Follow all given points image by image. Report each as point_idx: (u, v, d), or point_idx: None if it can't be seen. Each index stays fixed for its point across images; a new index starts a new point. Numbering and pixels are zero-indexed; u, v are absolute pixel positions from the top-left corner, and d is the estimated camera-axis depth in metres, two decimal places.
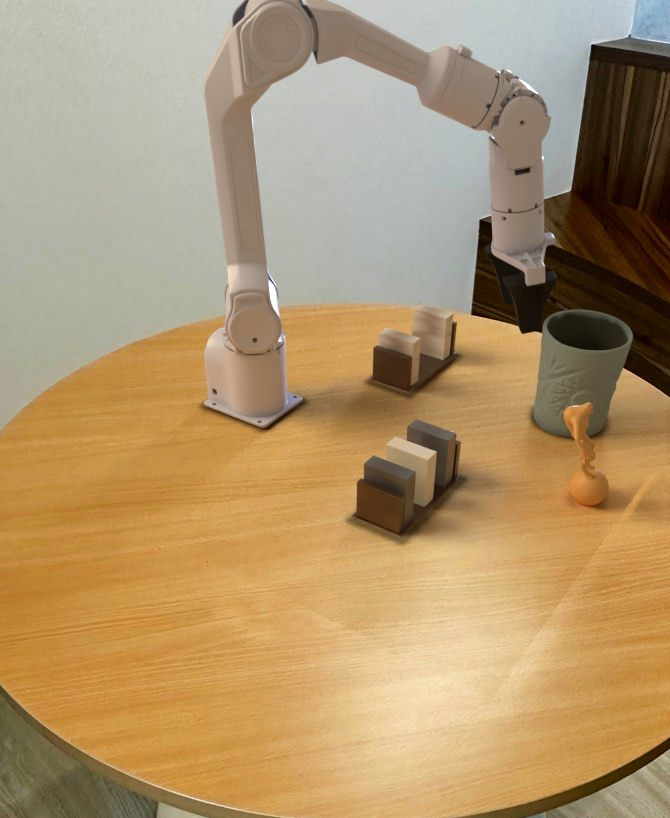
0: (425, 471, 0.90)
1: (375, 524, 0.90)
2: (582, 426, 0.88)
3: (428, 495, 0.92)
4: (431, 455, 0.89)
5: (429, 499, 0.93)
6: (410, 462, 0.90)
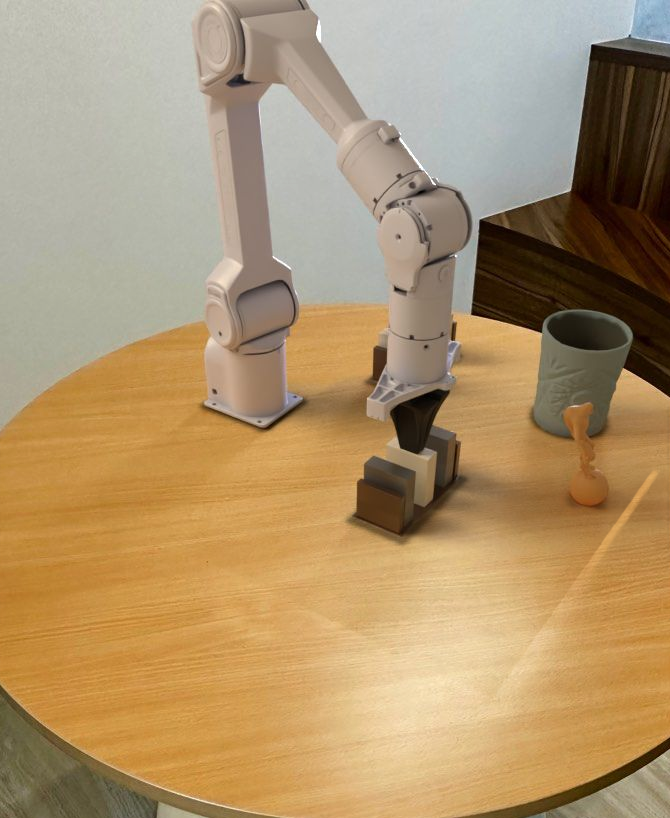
0: (425, 472, 0.90)
1: (375, 524, 0.90)
2: (582, 426, 0.88)
3: (428, 495, 0.92)
4: (431, 455, 0.89)
5: (429, 499, 0.93)
6: (410, 462, 0.90)
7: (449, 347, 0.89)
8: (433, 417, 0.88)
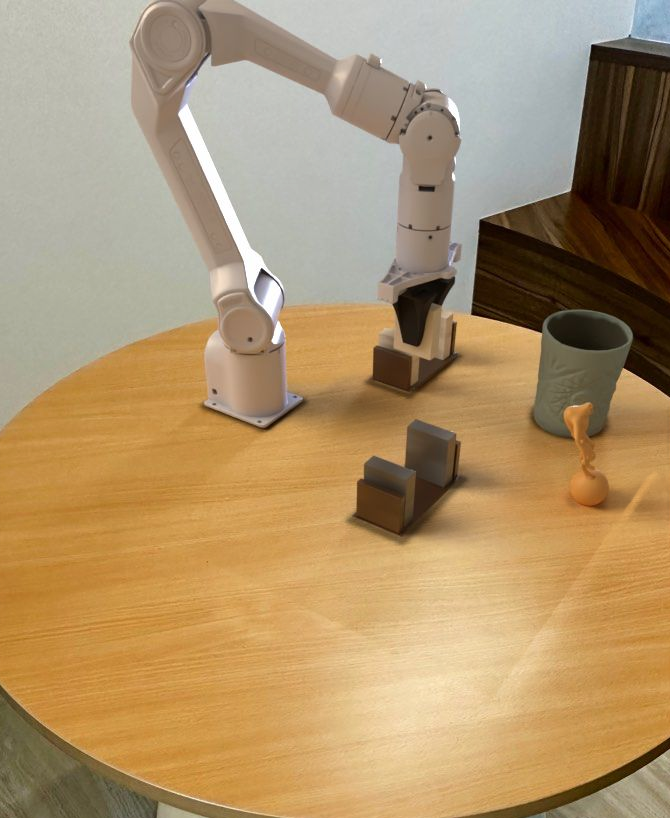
0: (431, 324, 0.98)
1: (375, 524, 0.90)
2: (582, 426, 0.88)
3: (434, 349, 1.01)
4: (437, 308, 0.98)
5: (435, 354, 1.01)
6: None
7: (451, 247, 1.00)
8: (440, 305, 0.99)
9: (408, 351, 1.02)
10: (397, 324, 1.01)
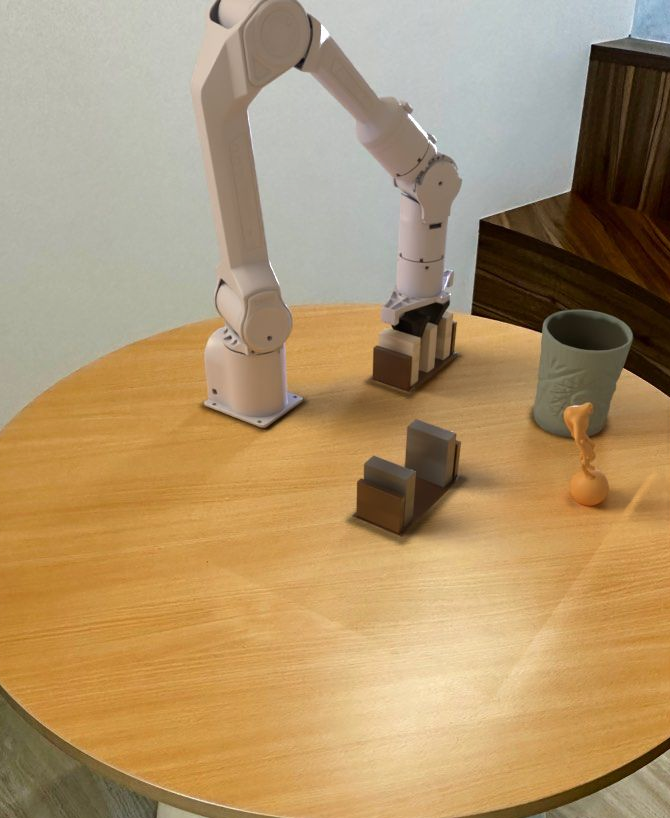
0: (428, 341, 1.12)
1: (375, 524, 0.90)
2: (582, 426, 0.88)
3: (430, 363, 1.14)
4: (433, 327, 1.11)
5: (431, 367, 1.15)
6: None
7: (444, 273, 1.13)
8: (437, 324, 1.13)
9: None
10: None
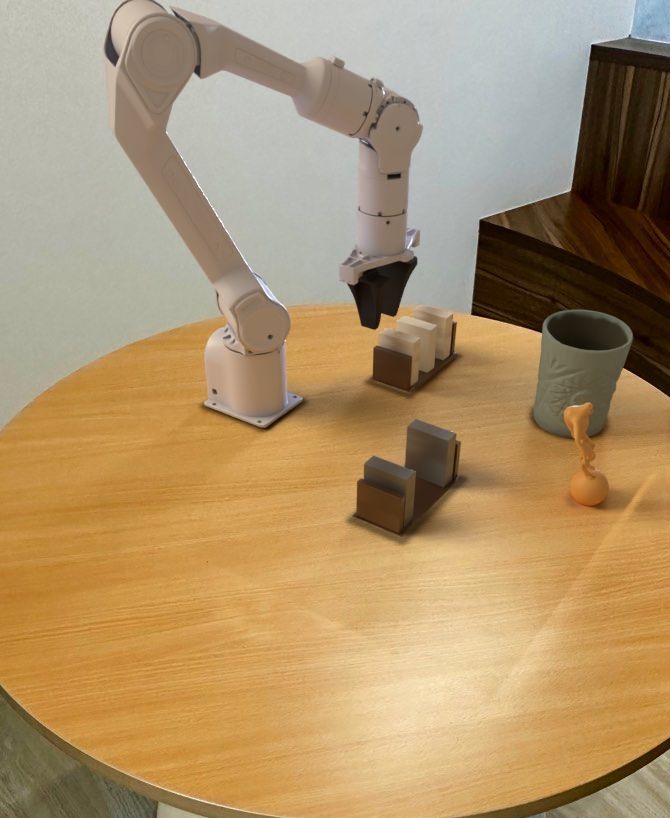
0: (428, 341, 1.12)
1: (375, 524, 0.90)
2: (582, 426, 0.88)
3: (430, 363, 1.14)
4: (433, 327, 1.11)
5: (431, 367, 1.15)
6: (416, 334, 1.12)
7: (410, 232, 1.06)
8: (404, 285, 1.06)
9: None
10: None
